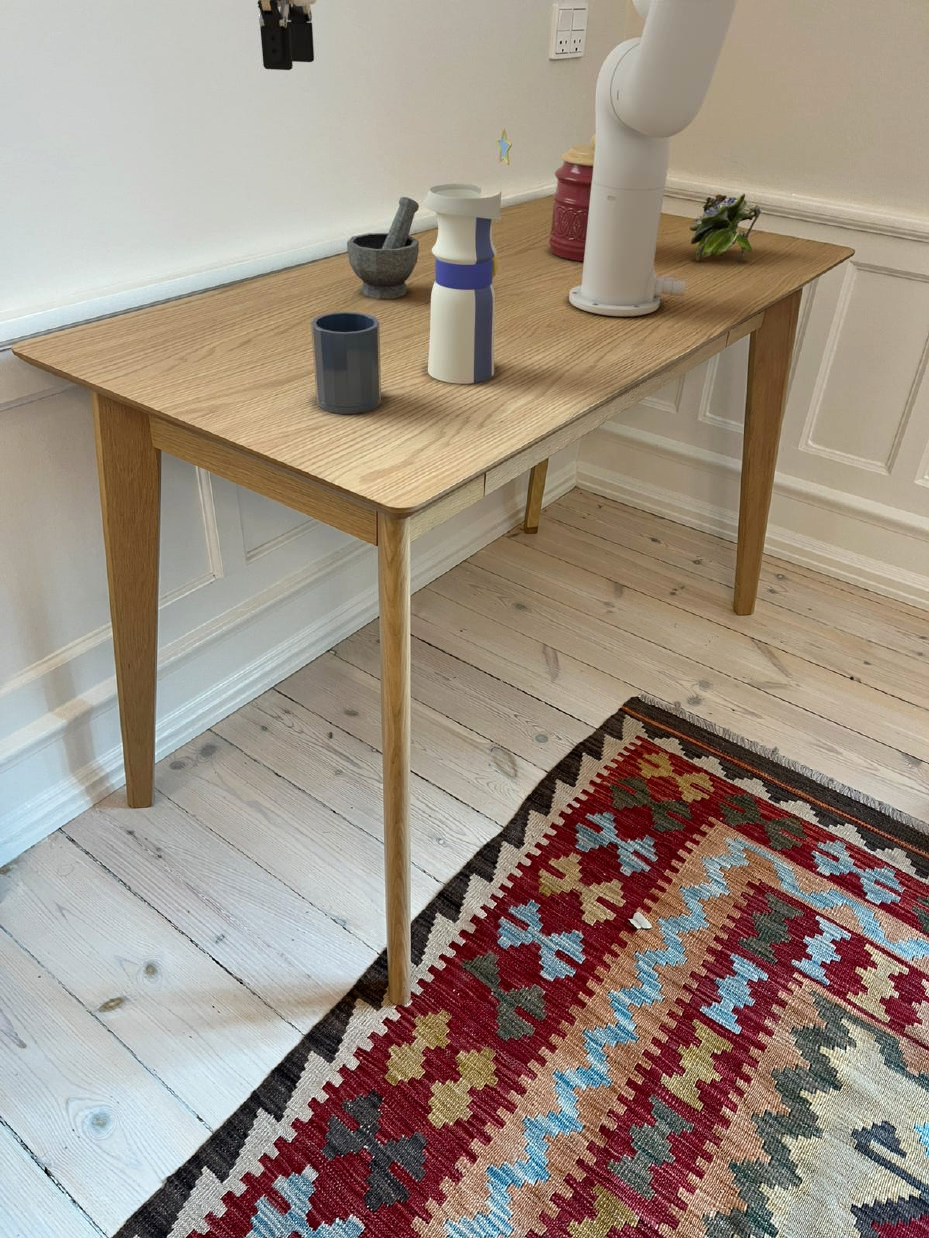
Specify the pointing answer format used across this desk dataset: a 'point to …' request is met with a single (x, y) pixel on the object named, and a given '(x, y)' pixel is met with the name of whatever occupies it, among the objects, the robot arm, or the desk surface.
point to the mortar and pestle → (386, 255)
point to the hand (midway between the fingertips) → (289, 65)
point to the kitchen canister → (572, 202)
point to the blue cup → (347, 362)
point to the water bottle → (463, 281)
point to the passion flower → (722, 226)
